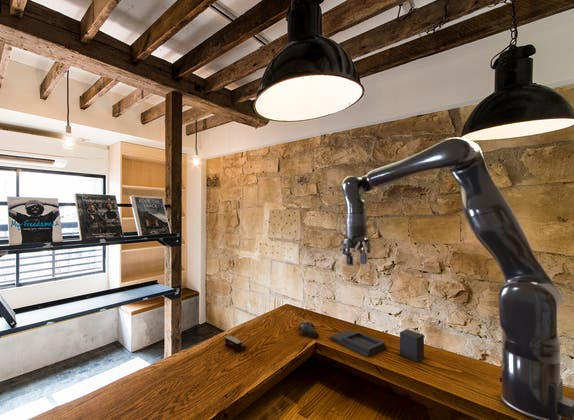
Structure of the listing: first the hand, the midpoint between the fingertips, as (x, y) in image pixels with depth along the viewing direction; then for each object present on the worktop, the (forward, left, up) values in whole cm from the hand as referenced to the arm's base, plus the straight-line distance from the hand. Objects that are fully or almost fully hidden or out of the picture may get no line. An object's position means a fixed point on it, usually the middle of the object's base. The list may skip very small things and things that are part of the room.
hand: (356, 264), depth 106 cm
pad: (-4, +7, -29) cm, 30 cm away
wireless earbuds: (+15, +50, -29) cm, 59 cm away
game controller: (+11, +16, -29) cm, 35 cm away
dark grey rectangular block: (-18, -1, -29) cm, 34 cm away
